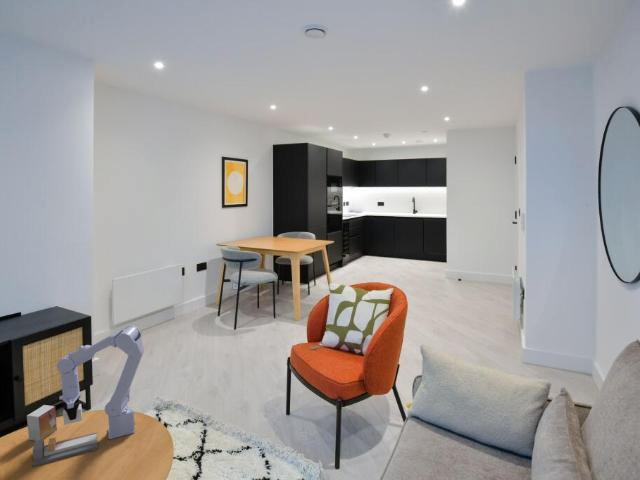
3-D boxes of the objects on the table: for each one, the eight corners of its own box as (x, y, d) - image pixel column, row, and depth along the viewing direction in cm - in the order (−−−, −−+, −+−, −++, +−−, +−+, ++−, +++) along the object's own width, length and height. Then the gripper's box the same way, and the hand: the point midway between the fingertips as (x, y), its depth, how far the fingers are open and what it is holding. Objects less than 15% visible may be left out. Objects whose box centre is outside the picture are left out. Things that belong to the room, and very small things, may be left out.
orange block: (56, 443, 151) (55, 437, 150) (55, 449, 147) (54, 443, 147) (49, 445, 150) (49, 438, 149) (48, 451, 146) (47, 445, 146)
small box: (40, 442, 155) (38, 417, 154) (28, 440, 156) (26, 415, 155) (57, 429, 163) (55, 406, 162) (46, 428, 164) (43, 404, 163)
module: (82, 415, 163) (81, 403, 162) (81, 420, 159) (80, 408, 159) (64, 419, 160) (63, 406, 160) (64, 425, 156) (62, 412, 156)
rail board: (97, 434, 160) (96, 423, 159) (96, 449, 152) (96, 437, 151) (36, 450, 151) (35, 438, 150) (33, 466, 142) (31, 453, 141)
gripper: (60, 378, 162) (63, 409, 164) (56, 395, 149) (59, 428, 151) (80, 375, 165) (82, 405, 167) (78, 390, 153) (81, 423, 155)
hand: (73, 416), depth 160 cm, fingers closed on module, 4 cm apart
